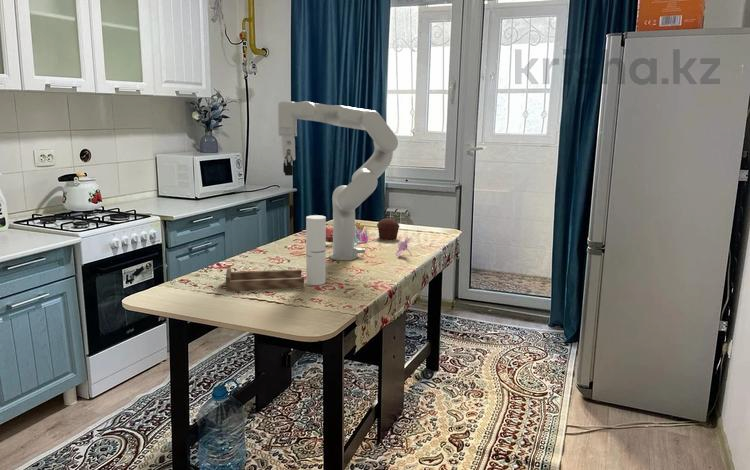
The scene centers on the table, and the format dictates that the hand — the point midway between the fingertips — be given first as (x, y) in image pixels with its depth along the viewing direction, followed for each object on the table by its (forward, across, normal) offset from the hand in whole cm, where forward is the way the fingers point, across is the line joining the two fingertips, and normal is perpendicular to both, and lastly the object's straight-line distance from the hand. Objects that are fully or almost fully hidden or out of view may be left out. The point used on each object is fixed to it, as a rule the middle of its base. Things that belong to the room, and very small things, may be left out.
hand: (288, 173), depth 235 cm
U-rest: (+37, -34, +10) cm, 51 cm away
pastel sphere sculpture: (+37, +30, -29) cm, 56 cm away
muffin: (+37, +33, -52) cm, 72 cm away
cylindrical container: (+37, -34, -8) cm, 51 cm away
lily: (+37, -1, -51) cm, 63 cm away
